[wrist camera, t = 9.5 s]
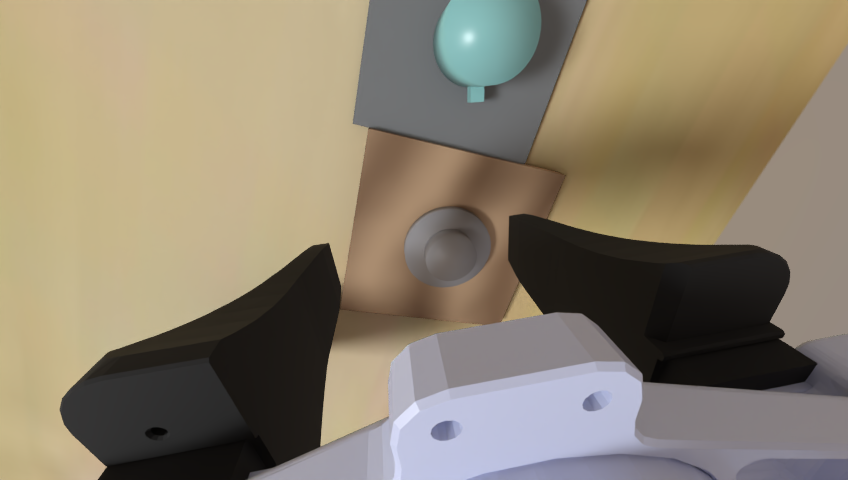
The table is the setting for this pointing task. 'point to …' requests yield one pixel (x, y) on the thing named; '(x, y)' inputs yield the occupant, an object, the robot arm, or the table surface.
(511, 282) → the post board
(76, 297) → the table surface
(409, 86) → the mat
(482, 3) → the teal ovoid with tab
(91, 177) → the table surface
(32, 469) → the table surface
